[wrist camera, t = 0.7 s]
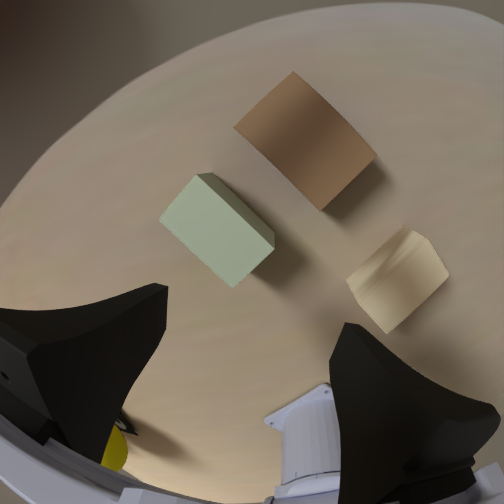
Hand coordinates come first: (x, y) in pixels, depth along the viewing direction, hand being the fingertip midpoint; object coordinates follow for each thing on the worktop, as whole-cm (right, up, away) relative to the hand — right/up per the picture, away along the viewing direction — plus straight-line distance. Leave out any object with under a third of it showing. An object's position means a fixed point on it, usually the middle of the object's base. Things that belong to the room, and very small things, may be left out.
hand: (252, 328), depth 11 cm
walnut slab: (+3, +10, +7) cm, 13 cm away
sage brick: (-2, +5, +9) cm, 10 cm away
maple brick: (+10, +2, +9) cm, 14 cm away
